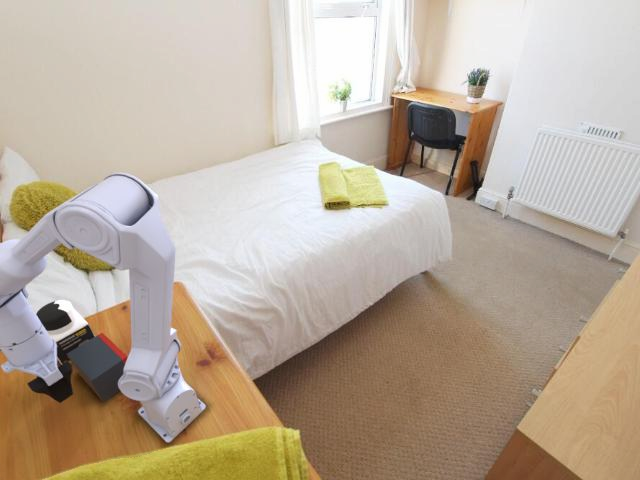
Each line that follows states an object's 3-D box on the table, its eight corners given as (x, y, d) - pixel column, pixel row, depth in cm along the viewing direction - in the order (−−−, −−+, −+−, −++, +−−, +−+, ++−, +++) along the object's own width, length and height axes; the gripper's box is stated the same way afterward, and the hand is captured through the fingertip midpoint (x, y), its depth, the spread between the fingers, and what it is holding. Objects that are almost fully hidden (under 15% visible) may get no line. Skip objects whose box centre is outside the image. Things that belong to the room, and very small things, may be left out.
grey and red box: (103, 402, 63) (137, 377, 67) (90, 381, 59) (127, 356, 64) (79, 375, 68) (112, 353, 72) (66, 353, 64) (102, 332, 69)
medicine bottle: (64, 367, 69) (37, 326, 63) (50, 350, 73) (24, 310, 66) (100, 345, 74) (79, 305, 67) (86, 330, 78) (64, 291, 71)
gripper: (-28, 327, 53) (14, 381, 60) (4, 374, 46) (47, 428, 53) (24, 302, 58) (58, 354, 65) (61, 341, 51) (94, 394, 58)
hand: (56, 385), depth 59 cm, fingers open, 7 cm apart
